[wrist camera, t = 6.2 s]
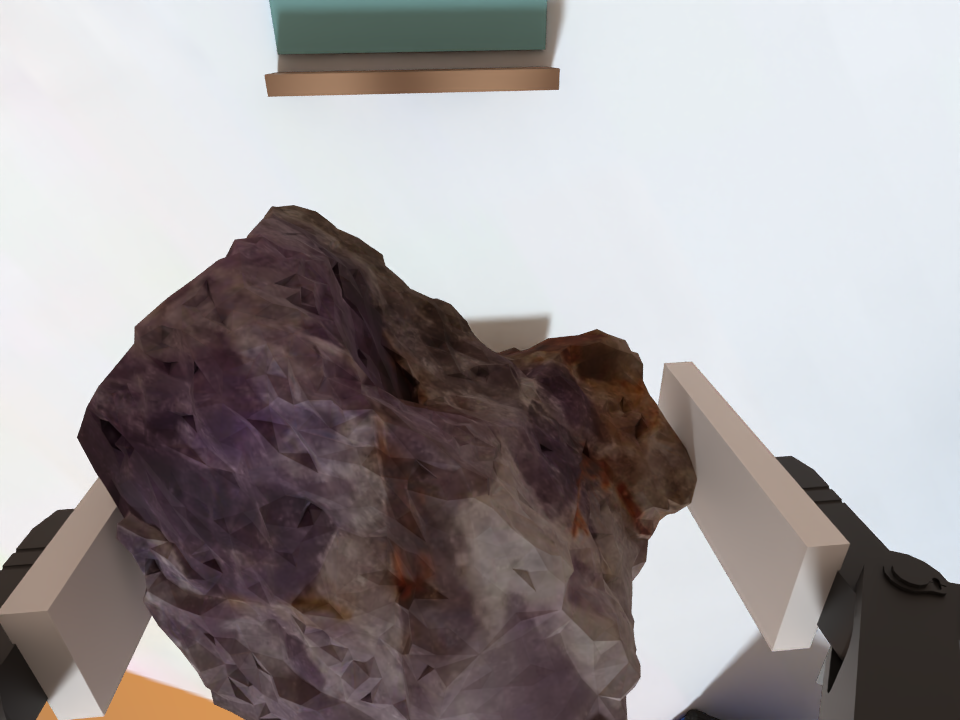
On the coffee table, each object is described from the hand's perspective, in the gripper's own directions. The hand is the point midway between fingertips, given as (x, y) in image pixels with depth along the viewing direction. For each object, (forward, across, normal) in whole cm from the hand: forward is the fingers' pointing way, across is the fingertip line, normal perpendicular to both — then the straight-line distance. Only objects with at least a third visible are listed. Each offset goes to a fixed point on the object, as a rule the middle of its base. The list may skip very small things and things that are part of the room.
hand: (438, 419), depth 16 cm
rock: (+1, +1, 0) cm, 1 cm away
